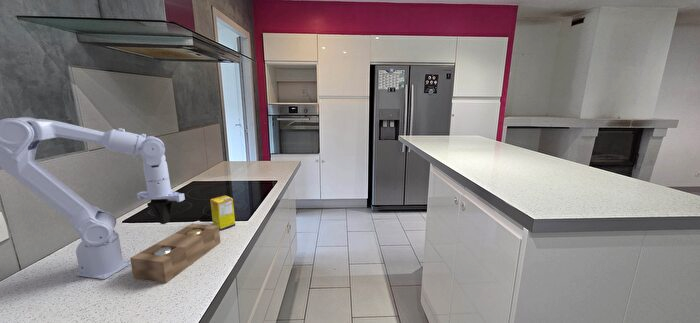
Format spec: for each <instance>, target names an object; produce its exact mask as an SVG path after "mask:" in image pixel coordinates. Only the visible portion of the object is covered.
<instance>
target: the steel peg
mask: <svg viewBox="0 0 700 323" xmlns="http://www.w3.org/2000/svg"><path fill="white" fill-rule="evenodd" d="M170 251H171V248H170V247H164V248H160V249H158V250H156V251H155V252H154V255H159V256H163V255H165V254H167V253H168V252H170Z"/></svg>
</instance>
